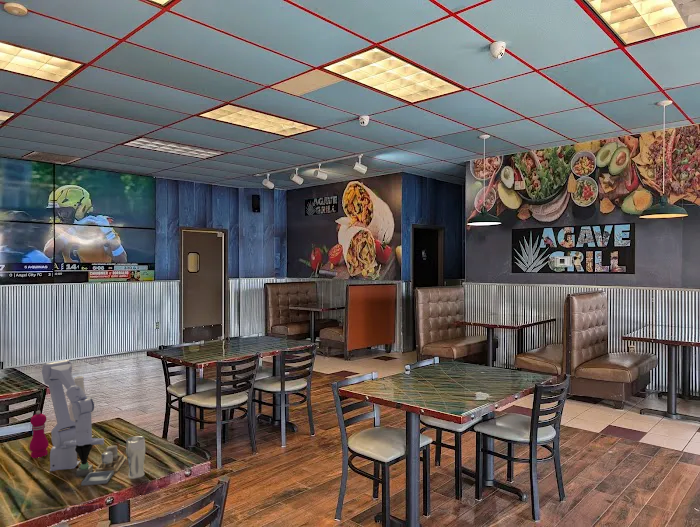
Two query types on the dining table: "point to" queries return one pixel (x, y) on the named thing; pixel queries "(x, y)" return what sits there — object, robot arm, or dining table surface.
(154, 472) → the dining table surface
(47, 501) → the dining table surface
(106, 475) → the tray
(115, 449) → the light brown divided box
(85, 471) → the switch box
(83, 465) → the button
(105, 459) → the cylinder
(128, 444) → the beer glass
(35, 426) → the pepper mill
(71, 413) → the alcohol
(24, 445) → the dining table surface
